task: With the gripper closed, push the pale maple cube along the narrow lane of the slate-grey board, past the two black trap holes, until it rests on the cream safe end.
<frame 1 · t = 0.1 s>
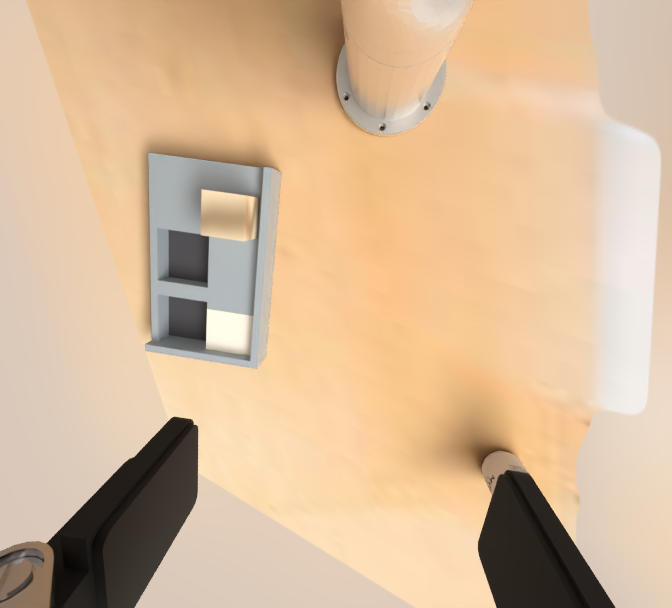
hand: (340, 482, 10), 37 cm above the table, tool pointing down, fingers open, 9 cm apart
energy drink can: (498, 463, 51), on the table
maple cube: (239, 215, 42), point 3 cm above the table, touching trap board
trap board: (217, 262, 47), on the table
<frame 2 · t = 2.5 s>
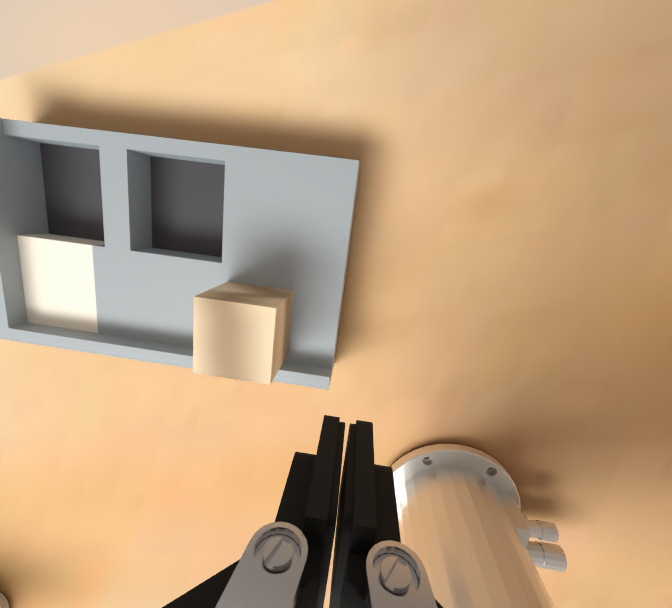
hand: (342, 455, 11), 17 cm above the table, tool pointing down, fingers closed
maple cube: (258, 318, 25), point 3 cm above the table, touching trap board
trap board: (190, 252, 27), on the table
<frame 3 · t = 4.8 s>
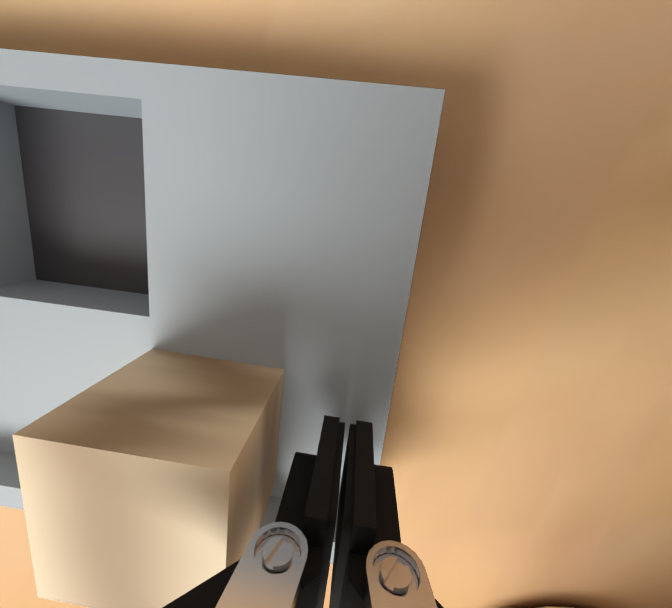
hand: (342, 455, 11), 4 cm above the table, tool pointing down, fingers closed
maple cube: (215, 418, 13), point 3 cm above the table, touching gripper
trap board: (106, 286, 15), on the table
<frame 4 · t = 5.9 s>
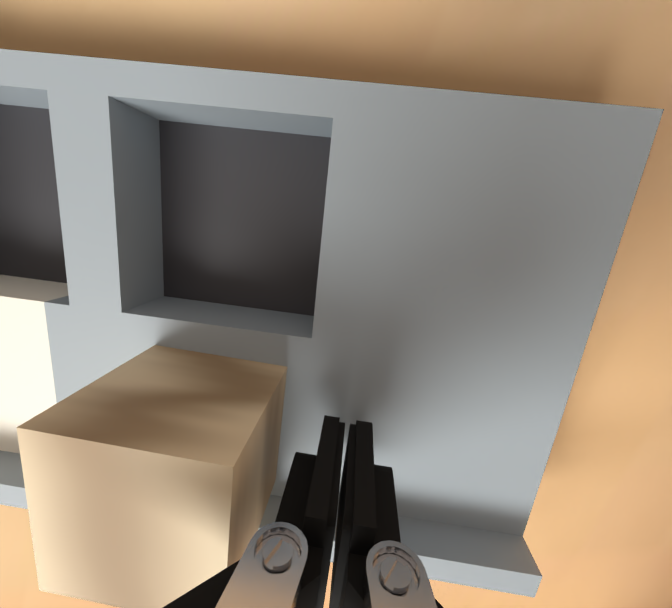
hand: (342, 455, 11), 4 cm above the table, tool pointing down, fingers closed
maple cube: (217, 414, 13), point 3 cm above the table, touching gripper, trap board
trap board: (233, 302, 15), on the table
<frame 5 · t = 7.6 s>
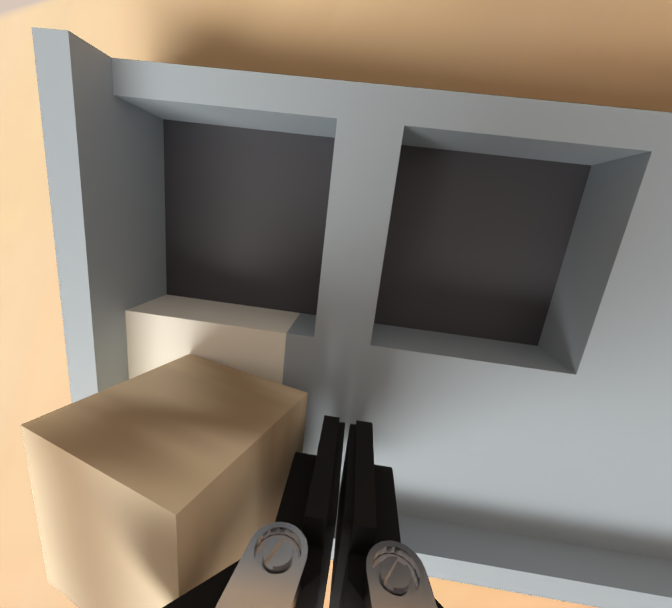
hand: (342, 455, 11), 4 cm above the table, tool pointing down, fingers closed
maple cube: (242, 434, 12), point 4 cm above the table, tilted 19°, touching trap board
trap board: (438, 329, 14), on the table
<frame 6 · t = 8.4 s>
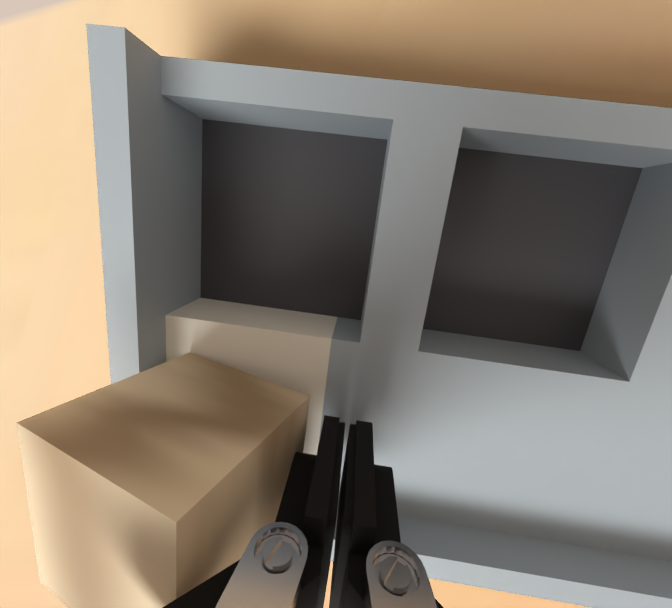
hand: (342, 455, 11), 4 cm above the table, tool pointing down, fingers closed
maple cube: (241, 435, 12), point 4 cm above the table, tilted 19°, touching gripper, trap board
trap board: (477, 333, 14), on the table
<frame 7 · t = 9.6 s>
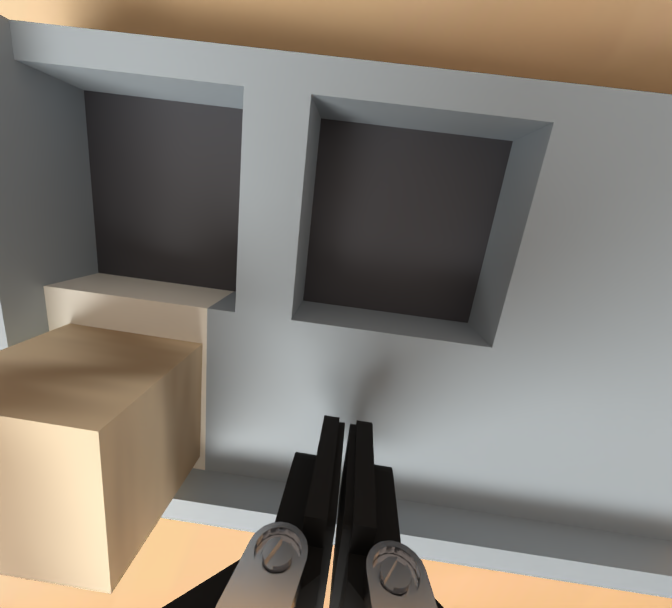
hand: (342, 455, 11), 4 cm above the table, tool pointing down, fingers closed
maple cube: (138, 393, 13), point 3 cm above the table, touching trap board
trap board: (372, 307, 14), on the table
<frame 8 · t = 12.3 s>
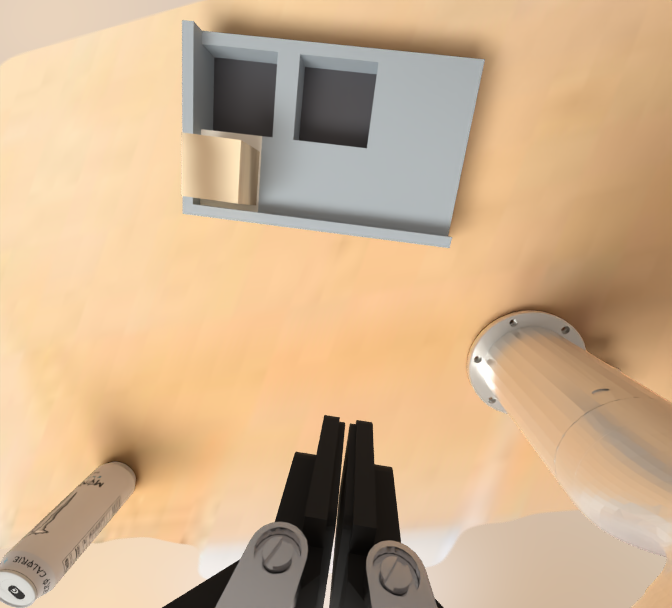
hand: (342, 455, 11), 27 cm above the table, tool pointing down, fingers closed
energy drink can: (120, 474, 47), on the table
maple cube: (233, 175, 32), point 3 cm above the table, touching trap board
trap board: (327, 149, 34), on the table
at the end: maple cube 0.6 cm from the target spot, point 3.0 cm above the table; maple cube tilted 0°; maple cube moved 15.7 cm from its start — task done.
